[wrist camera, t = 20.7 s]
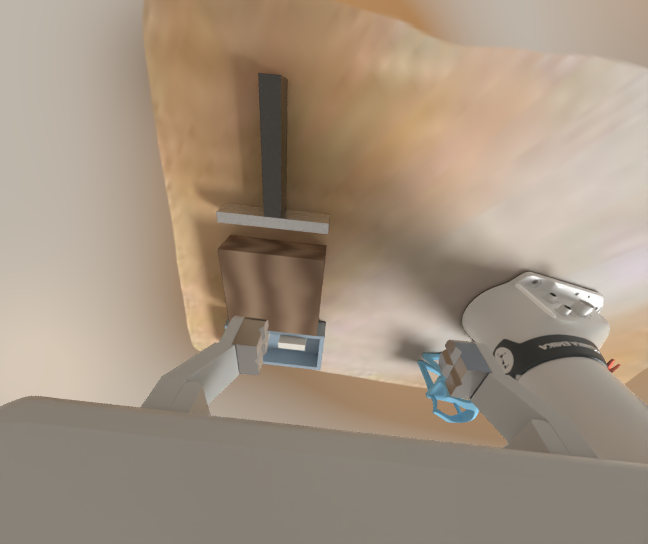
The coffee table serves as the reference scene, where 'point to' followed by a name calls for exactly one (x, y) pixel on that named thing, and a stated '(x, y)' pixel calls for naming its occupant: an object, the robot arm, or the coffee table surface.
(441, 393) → the light blue open frame
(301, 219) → the scraper
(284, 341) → the tile
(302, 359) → the box
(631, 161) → the coffee table surface
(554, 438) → the robot arm
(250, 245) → the plate
